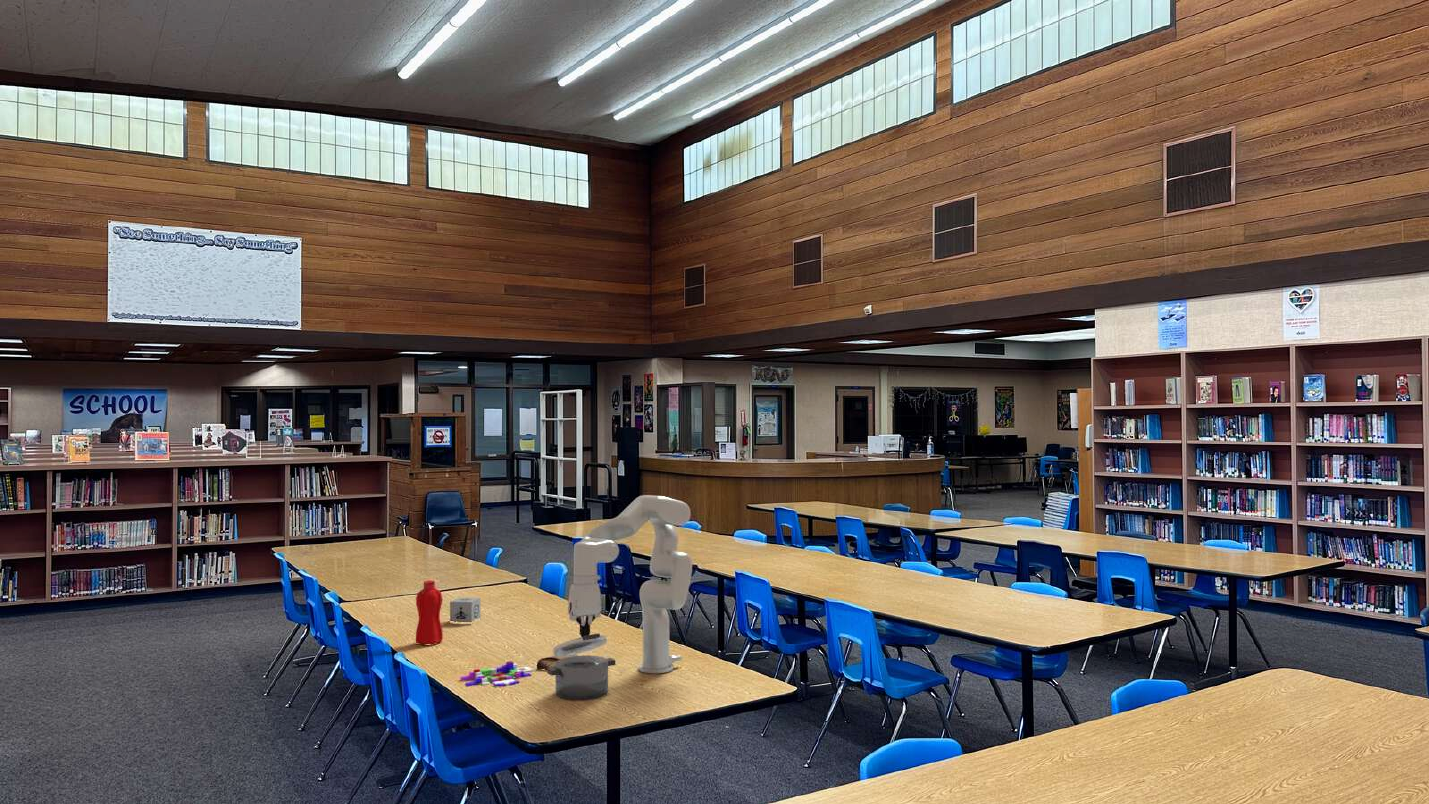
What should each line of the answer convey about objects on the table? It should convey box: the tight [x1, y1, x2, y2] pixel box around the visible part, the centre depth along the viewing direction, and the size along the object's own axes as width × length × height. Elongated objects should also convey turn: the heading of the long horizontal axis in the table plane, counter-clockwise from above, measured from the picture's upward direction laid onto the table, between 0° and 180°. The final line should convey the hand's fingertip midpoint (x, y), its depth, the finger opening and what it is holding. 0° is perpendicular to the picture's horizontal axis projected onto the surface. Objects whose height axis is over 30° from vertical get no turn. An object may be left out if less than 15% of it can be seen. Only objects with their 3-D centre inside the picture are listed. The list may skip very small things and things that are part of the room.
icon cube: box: [449, 596, 481, 622], centre depth 403 cm, size 10×10×10 cm
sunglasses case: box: [536, 654, 579, 670], centre depth 329 cm, size 18×7×7 cm
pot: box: [546, 654, 616, 702], centre depth 295 cm, size 23×18×10 cm
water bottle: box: [415, 580, 444, 645], centre depth 363 cm, size 9×11×25 cm
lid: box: [552, 633, 608, 656], centre depth 295 cm, size 18×20×3 cm
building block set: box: [460, 660, 534, 687], centre depth 312 cm, size 25×20×4 cm
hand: (584, 637), depth 292 cm, fingers closed
